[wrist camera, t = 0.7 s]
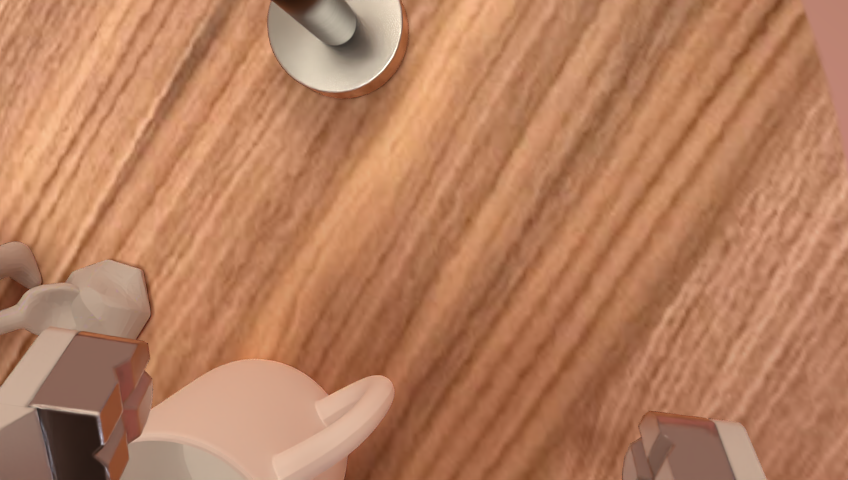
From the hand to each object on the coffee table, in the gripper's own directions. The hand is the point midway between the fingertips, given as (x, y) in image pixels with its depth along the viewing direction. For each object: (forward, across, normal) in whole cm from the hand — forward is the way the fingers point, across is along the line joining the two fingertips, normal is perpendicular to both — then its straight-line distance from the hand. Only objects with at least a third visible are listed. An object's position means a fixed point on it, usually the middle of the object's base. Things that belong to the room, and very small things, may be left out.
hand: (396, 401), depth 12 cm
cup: (+14, +4, +17) cm, 22 cm away
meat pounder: (+22, +4, +2) cm, 22 cm away
